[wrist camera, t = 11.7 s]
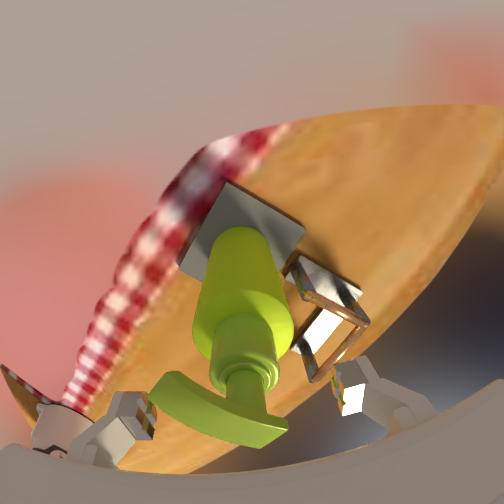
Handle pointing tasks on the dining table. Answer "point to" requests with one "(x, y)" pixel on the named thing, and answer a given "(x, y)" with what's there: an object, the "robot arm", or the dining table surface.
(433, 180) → the dining table surface
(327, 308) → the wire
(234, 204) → the mat
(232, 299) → the soap dispenser
